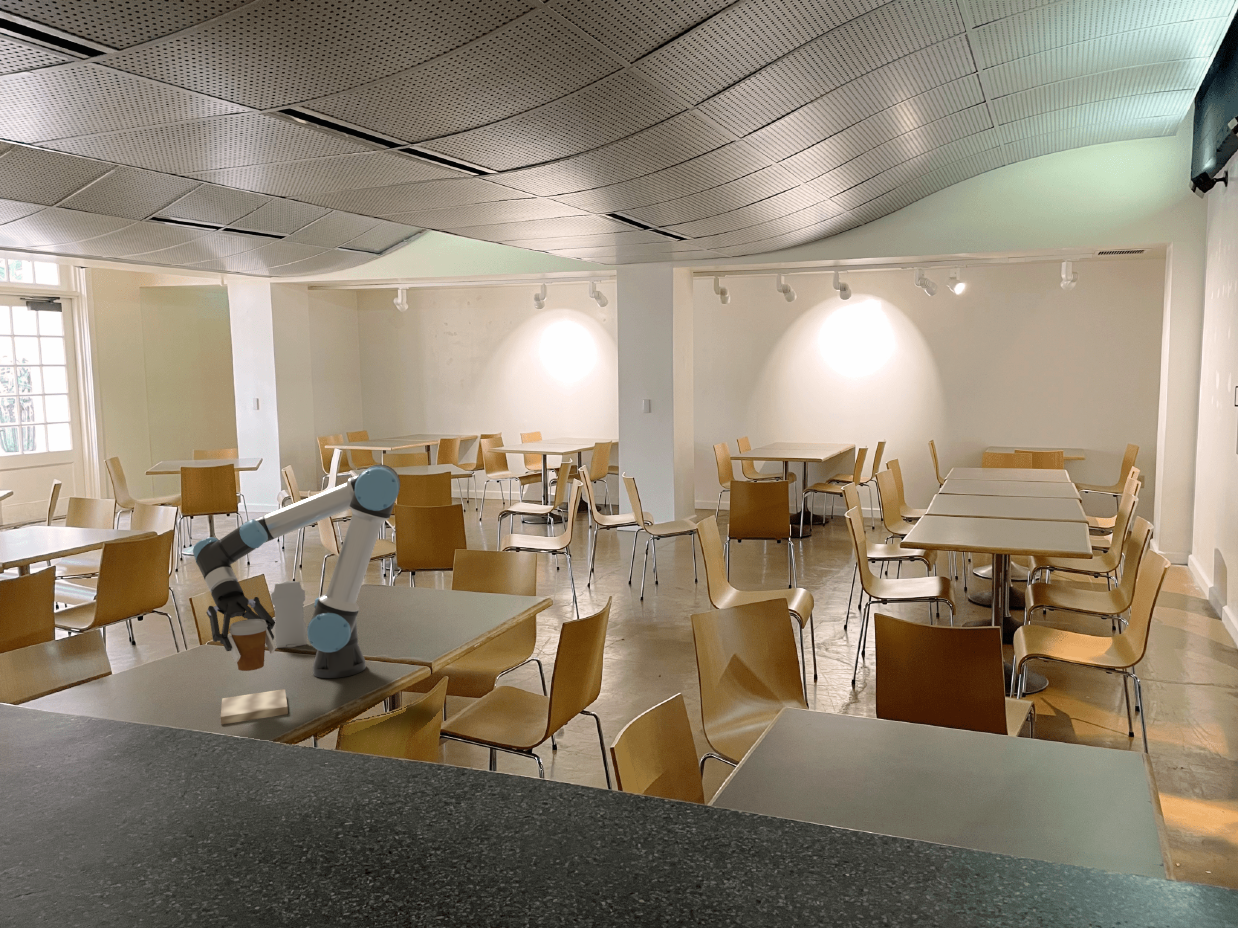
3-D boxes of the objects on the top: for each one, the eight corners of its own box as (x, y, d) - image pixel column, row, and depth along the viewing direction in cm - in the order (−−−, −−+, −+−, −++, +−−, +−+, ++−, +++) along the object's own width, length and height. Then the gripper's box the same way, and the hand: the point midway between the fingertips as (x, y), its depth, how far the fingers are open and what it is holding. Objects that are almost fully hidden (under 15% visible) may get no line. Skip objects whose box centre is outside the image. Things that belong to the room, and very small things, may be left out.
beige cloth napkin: (285, 695, 254) (285, 688, 254) (287, 713, 239) (287, 706, 239) (222, 705, 248) (222, 698, 248) (221, 724, 233) (220, 716, 233)
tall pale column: (274, 649, 302) (269, 583, 301) (274, 646, 306) (270, 581, 305) (308, 645, 306) (303, 580, 304) (308, 642, 310) (304, 578, 308)
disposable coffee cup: (244, 675, 236) (241, 629, 235) (224, 669, 242) (221, 624, 241) (277, 665, 243) (274, 621, 242) (257, 660, 249) (254, 616, 248)
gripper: (259, 588, 259) (290, 653, 250) (180, 603, 244) (210, 673, 234) (266, 572, 255) (298, 637, 246) (187, 586, 240) (218, 656, 230)
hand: (255, 654), depth 240 cm, fingers closed on disposable coffee cup, 9 cm apart
